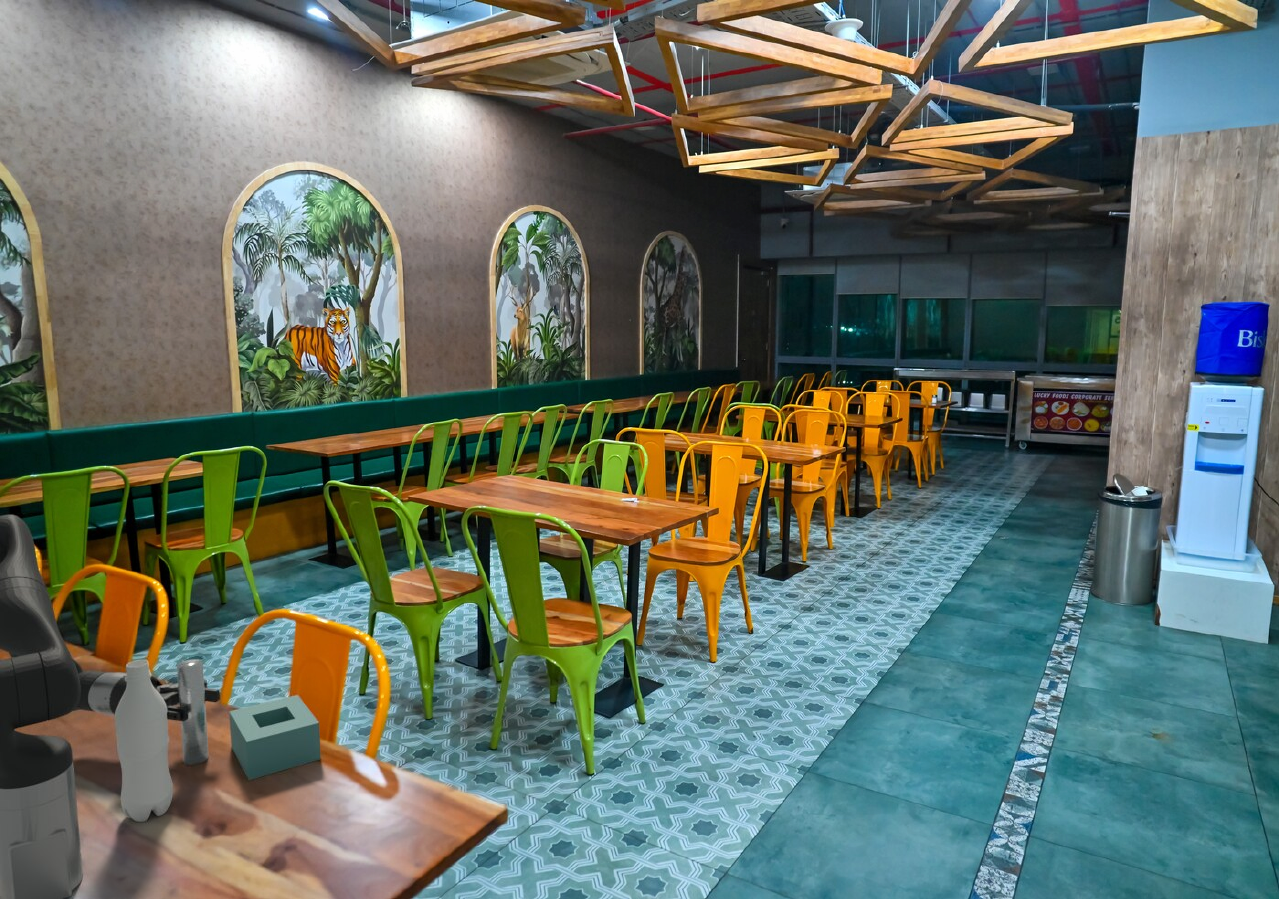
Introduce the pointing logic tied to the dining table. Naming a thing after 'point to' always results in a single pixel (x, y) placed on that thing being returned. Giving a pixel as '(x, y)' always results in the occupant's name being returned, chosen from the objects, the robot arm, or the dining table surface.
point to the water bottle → (143, 745)
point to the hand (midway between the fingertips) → (202, 705)
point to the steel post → (193, 711)
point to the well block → (274, 736)
